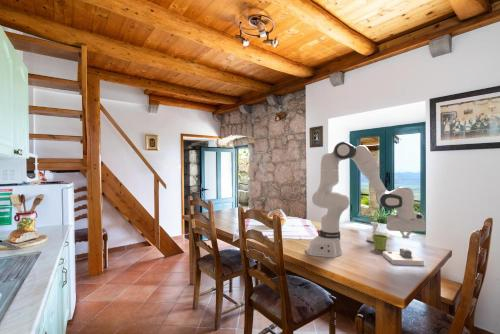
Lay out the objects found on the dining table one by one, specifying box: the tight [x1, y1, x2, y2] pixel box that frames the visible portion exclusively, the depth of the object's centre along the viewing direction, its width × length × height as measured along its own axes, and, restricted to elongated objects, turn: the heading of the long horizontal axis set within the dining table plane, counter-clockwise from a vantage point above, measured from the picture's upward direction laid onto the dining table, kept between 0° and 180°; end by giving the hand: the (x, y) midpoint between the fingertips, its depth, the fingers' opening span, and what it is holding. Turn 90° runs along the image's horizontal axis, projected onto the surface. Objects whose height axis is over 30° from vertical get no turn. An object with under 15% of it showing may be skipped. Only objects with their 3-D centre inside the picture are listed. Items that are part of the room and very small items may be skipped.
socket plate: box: [382, 250, 425, 266], centre depth 143 cm, size 16×14×3 cm
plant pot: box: [372, 233, 389, 251], centre depth 163 cm, size 9×9×9 cm
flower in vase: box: [363, 207, 379, 243], centre depth 179 cm, size 13×11×25 cm
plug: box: [399, 248, 413, 258], centre depth 143 cm, size 4×5×6 cm
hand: (405, 238), depth 143 cm, fingers closed
